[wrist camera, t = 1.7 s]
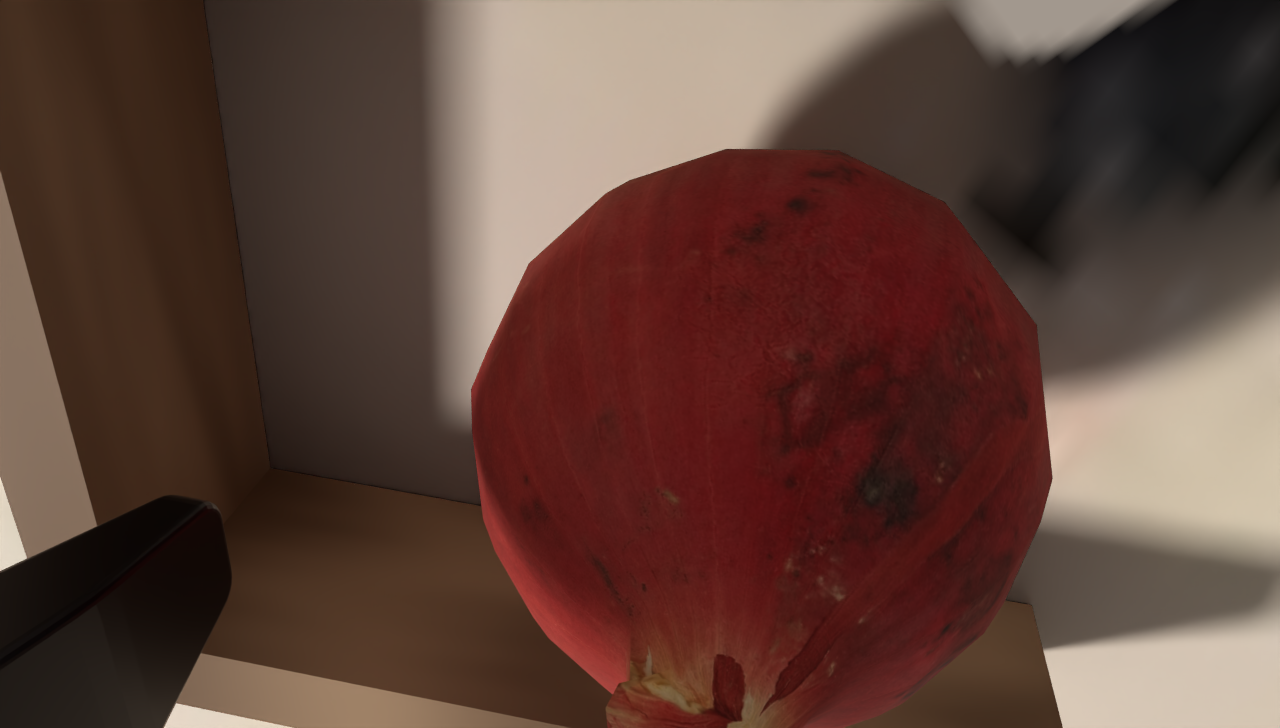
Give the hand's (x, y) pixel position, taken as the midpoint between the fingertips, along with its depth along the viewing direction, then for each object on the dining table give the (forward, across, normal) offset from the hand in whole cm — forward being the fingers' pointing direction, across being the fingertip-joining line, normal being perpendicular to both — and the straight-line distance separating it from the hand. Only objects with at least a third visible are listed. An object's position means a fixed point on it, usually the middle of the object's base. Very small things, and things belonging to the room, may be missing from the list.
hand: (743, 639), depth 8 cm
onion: (+7, 0, 0) cm, 7 cm away
